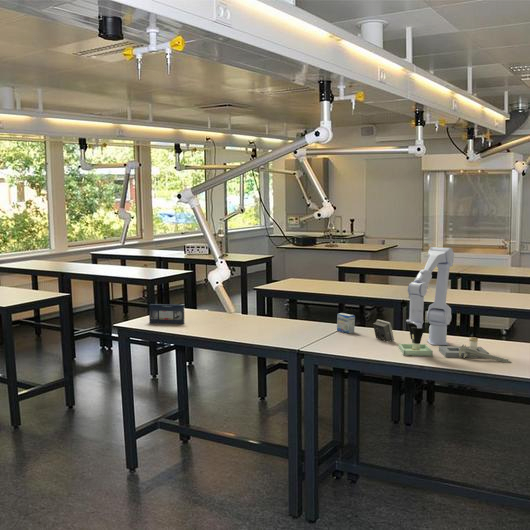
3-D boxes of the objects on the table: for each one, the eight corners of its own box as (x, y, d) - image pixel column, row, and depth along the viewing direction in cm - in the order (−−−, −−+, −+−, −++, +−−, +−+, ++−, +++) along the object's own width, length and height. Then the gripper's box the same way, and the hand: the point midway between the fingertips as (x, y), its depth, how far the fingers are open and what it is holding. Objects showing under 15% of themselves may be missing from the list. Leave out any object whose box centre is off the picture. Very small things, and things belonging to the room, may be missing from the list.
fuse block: (438, 350, 263) (438, 346, 263) (480, 351, 262) (480, 346, 262) (445, 357, 252) (445, 352, 252) (489, 357, 251) (489, 353, 251)
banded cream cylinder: (411, 349, 262) (411, 333, 261) (419, 349, 261) (419, 334, 261) (412, 351, 258) (412, 335, 257) (420, 351, 258) (420, 335, 257)
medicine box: (336, 330, 301) (336, 313, 300) (342, 329, 304) (342, 312, 303) (348, 333, 295) (349, 316, 294) (354, 332, 298) (355, 315, 297)
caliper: (458, 358, 251) (459, 344, 250) (458, 358, 252) (459, 343, 251) (511, 363, 244) (512, 348, 243) (511, 362, 245) (512, 347, 245)
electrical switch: (394, 341, 280) (393, 322, 278) (385, 343, 277) (384, 324, 276) (381, 337, 288) (380, 318, 286) (372, 339, 285) (371, 320, 284)
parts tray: (398, 348, 266) (398, 343, 266) (425, 349, 266) (426, 344, 265) (403, 355, 254) (403, 350, 254) (432, 356, 254) (432, 351, 253)
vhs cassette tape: (149, 323, 316) (148, 304, 315) (150, 322, 319) (150, 303, 318) (183, 324, 314) (183, 305, 313) (184, 323, 317) (184, 304, 316)
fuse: (467, 353, 259) (468, 337, 258) (475, 353, 259) (476, 337, 258) (470, 355, 255) (470, 339, 255) (478, 355, 255) (478, 339, 254)
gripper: (403, 306, 265) (402, 337, 267) (410, 313, 251) (409, 345, 252) (419, 307, 265) (418, 337, 266) (427, 313, 250) (426, 345, 252)
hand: (415, 341), depth 259 cm, fingers open, 7 cm apart
